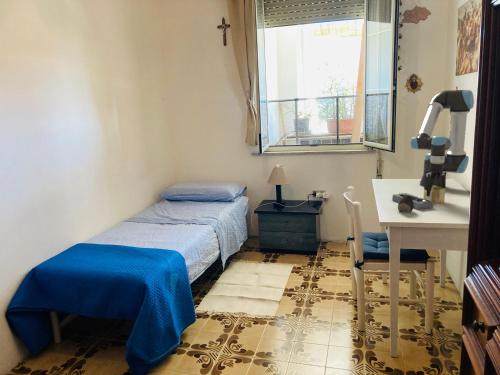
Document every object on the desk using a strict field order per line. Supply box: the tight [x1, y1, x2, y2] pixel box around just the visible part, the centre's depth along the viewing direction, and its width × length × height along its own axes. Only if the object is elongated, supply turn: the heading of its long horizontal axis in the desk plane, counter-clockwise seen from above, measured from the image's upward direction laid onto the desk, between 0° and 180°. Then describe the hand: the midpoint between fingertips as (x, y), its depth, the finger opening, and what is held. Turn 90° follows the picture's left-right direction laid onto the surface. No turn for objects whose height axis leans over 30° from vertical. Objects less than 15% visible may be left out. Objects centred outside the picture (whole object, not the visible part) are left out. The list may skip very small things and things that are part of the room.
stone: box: [397, 195, 415, 213], centre depth 209 cm, size 8×7×10 cm
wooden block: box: [423, 185, 447, 205], centre depth 228 cm, size 4×12×9 cm, turn 19°
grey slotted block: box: [391, 192, 435, 211], centre depth 223 cm, size 10×22×4 cm, turn 19°
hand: (433, 200), depth 229 cm, fingers open, 7 cm apart
